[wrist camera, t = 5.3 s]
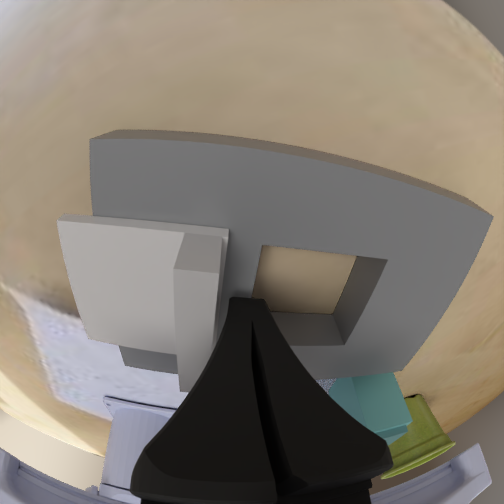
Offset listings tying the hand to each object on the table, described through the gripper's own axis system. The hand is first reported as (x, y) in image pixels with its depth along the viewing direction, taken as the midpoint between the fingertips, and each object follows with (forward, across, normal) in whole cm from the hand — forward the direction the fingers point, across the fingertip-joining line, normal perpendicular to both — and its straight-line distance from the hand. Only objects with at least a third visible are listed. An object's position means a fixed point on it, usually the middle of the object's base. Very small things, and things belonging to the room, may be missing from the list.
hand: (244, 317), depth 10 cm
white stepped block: (+1, +4, 0) cm, 4 cm away
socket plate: (+3, -3, 0) cm, 4 cm away
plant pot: (+3, -22, +19) cm, 29 cm away
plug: (+3, -11, +10) cm, 15 cm away
